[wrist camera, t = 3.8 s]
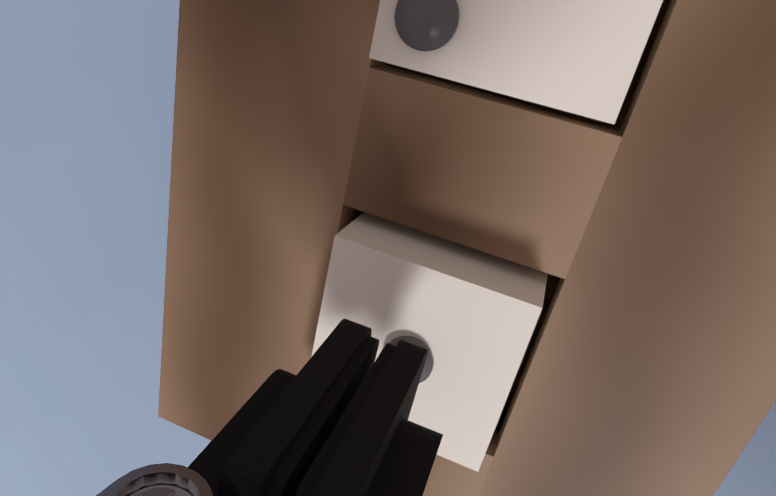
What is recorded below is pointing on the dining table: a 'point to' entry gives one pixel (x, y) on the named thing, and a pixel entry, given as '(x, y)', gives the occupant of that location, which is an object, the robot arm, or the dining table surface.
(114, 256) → the dining table surface
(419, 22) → the button three
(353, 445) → the robot arm
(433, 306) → the button one
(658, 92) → the button board
